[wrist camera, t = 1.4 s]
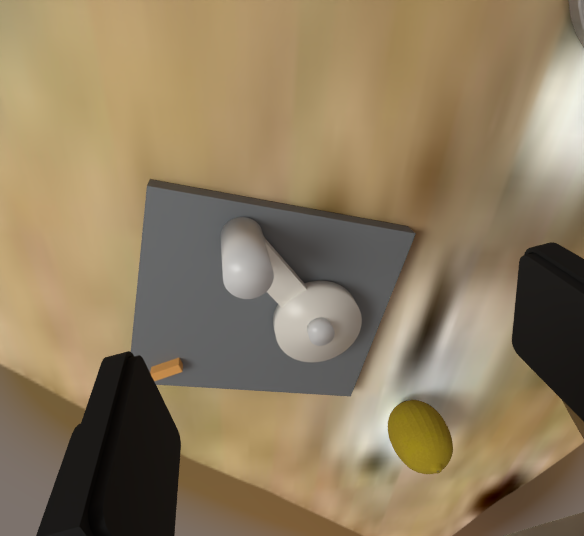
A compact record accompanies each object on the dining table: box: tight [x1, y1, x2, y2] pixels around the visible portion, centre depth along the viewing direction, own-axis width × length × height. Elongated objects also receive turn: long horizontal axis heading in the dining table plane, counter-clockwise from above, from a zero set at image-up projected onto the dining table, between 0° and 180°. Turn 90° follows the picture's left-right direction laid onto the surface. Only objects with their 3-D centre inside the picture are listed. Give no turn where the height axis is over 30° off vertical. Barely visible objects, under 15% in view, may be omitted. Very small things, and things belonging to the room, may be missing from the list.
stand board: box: [131, 179, 416, 396], centre depth 34 cm, size 20×17×2 cm
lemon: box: [388, 400, 453, 474], centre depth 40 cm, size 6×6×8 cm
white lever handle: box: [221, 217, 362, 362], centre depth 30 cm, size 14×7×6 cm, turn 36°
